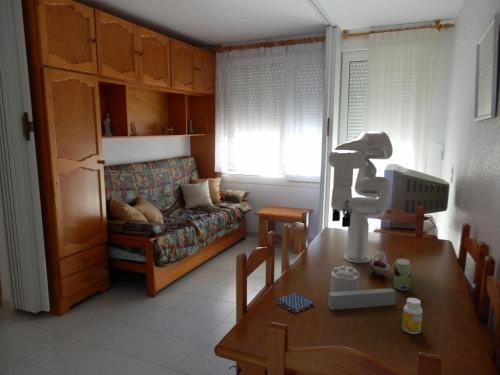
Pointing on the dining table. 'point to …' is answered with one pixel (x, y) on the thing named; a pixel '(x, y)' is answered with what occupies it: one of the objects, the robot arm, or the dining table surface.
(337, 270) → the lumpy-topped squat cylinder
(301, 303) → the woven mat
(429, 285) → the dining table surface
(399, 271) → the beverage can
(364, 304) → the grey long bar
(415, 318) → the supplement bottle
